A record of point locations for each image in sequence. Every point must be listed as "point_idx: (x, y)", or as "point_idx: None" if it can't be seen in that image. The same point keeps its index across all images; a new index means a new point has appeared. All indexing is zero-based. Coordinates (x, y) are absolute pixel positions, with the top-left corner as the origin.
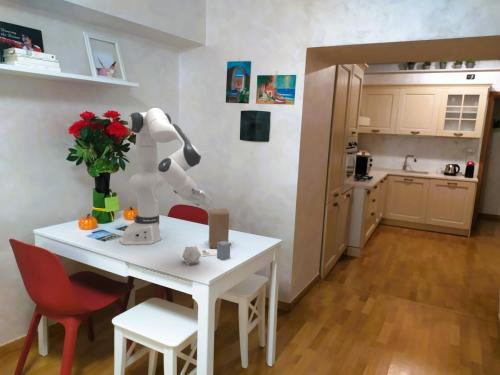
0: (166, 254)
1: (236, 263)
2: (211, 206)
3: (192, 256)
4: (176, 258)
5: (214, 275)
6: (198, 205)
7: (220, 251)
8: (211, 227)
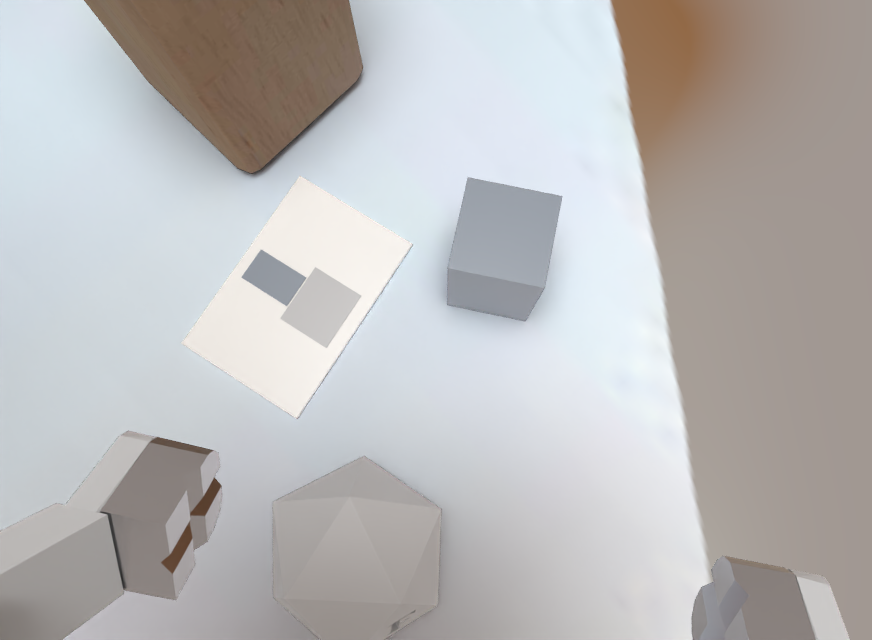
0: None
1: (656, 296)
2: (833, 613)
3: (418, 611)
4: None
5: None
6: (210, 515)
7: (498, 298)
8: (190, 68)
